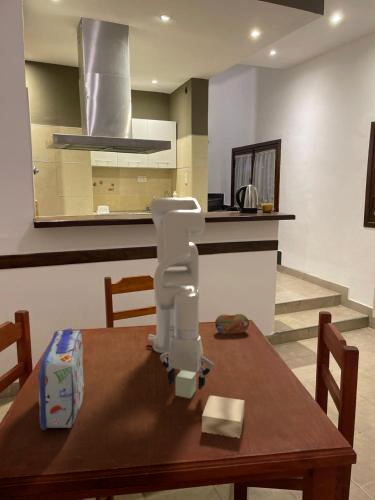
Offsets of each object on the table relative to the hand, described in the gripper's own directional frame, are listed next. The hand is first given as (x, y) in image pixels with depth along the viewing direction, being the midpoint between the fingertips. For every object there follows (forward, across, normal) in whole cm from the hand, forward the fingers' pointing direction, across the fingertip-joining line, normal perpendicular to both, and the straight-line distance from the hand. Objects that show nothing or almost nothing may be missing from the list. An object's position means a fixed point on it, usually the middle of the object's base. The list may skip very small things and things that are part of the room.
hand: (186, 384), depth 116 cm
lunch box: (+3, -30, -20) cm, 36 cm away
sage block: (+3, 0, 0) cm, 3 cm away
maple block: (+4, +15, -10) cm, 18 cm away
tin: (+2, +2, +54) cm, 55 cm away
